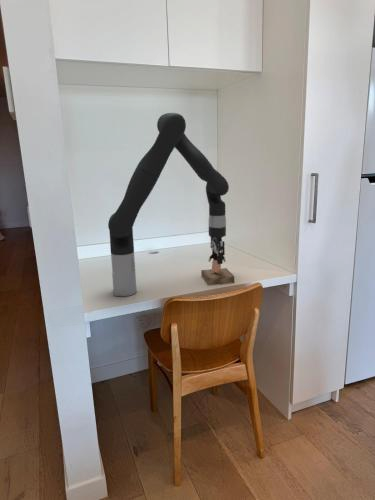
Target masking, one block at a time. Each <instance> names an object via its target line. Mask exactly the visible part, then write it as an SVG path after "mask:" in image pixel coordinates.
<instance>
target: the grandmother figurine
mask: <svg viewBox="0 0 375 500" xmlns="http://www.w3.org/2000/svg"><path fill="white" fill-rule="evenodd" d="M214 252H215V253H213V254H210V256H209V258H208V260H207V261H208V262H209V263H210V262H211V261H212V263H211V269H212V271H211V274H214V273H215V272H216V274H220V269H222V264H218V263H217V251H215V246H214ZM225 262H226V257H225V255H223V263H225Z"/></svg>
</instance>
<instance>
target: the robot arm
mask: <svg viewBox="0 0 375 500" xmlns="http://www.w3.org/2000/svg"><path fill="white" fill-rule="evenodd" d="M156 127H157V131H158V135H157V137H156V139H155V141H154V143H153V145H152V146H151V147H150V149H149V150H148V151H147V152H146V153H145V154H144V156H143V157H142V158H141V159H140V161H139V162H138V164H137V165H136V168H135V169H134V171H133V174H132V176H131V177H130V180H129V182H128V184H127V188H126V190H125V194H124V197H123V199H122V201H121V203H120V204H119V206H118V208H117V209H116V211H115V212H114V213H112V214H111V215H110V217H109V220H108V223H107V226H108V227H107V228H108V231H109V245H110V258H111V259H110V260H111V261H110V262H111V269H112V270H111V272H112V273H111V275H112V287H113V289H112V290H113V296H114V297H117V296H118V297H128V296H133V295H135V294H136V293H137V292H138V291H137V289H138V288H137V276H136V262H135V246H134V244H135V243H134V231H133V227H134V224H135V223H136V219H137V217H138V214H139V212H140V210H141V209H142V207H143V205H144V204H145V202H146V201H147V199H148V198H149V196H150V194H151V193H152V191H153V190H154V187H155V186H156V184H157V181H158V180H159V178H160V176H161V174H162V172H163V170H164V168H165V166H166V165H167V162H168V160H169V158H170V156H171V154H172V152H173V151H174V149H176V151H178V153H180V155H181V156H182V157H183V158H184V160H185V161H186V162H187V164H188V165H189V166H190V167H191V169H192V170H193V172H194V173H195V174H196V175H197V176H198V178H199V179H201V181H204V182H206V185H205V192H206V193H205V195H206V199H207V203H208V206H209V207H208V237H210V249H211V251H212V252H211V253H212V254H213V253H215V252H214V246H215V251H217V263H218V264H221V265H222V264H223V263H224V261H223V256H225V255H226V254H225V252H226V251H225V240H224V241H223V238H225V237H226V236H227V219H226V202H225V201H223V200H222V198H221V197H222V196H225V195H226V194H227V193H228V192H229V189H230V187H229V183H228V181H227V179H226V178H225V177H224V176H223V175H222V174H221V173H220V172H219V170H217V169H215V168H214V166H213V165H212V163H211V162H210V160H209V159H208V158H207V157H206V156H205V155H204V153H203V152H202V151H201V150H200V149H199V148H198V147H196V146H195V145H194V144H193V143H192V141H191V140H190V139H189V138H188V137H187V135H186V134H185V132H186V129H187V128H186V127H187V124H186V120H185V118H184V116H183V115H182V114H180V113H178V112H177V113H176V112H167V113H163V114H162V115H160V117H159V118H158V119H157V123H156ZM212 254H211V255H212Z"/></svg>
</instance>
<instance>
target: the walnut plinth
mask: <svg viewBox="0 0 375 500" xmlns="http://www.w3.org/2000/svg"><path fill="white" fill-rule="evenodd" d="M211 271H212V268H210V269H201V270H200V273H201V278H202V279H203V281H204V282H205V283H206V285H207V286H213V285H223V284H235V275H234V274H233V273H232V272H231V271H230V270H229V269H228V268H227V267H225V268H222V267H221V269H220V274H216V272H215V273H214V274H211Z"/></svg>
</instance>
